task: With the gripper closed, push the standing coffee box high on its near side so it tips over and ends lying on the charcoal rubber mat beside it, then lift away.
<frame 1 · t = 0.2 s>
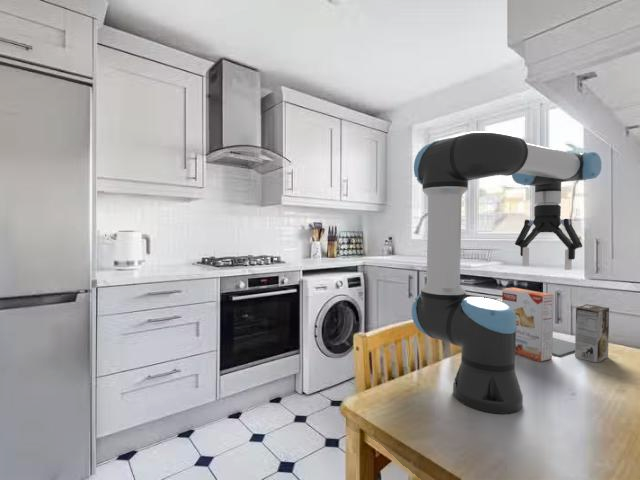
hand: (545, 267, 120), 28 cm above the table, tool pointing down, fingers open, 13 cm apart
coffee box: (591, 357, 114), on the table
mat: (551, 346, 124), on the table
cracker box: (525, 354, 116), on the table
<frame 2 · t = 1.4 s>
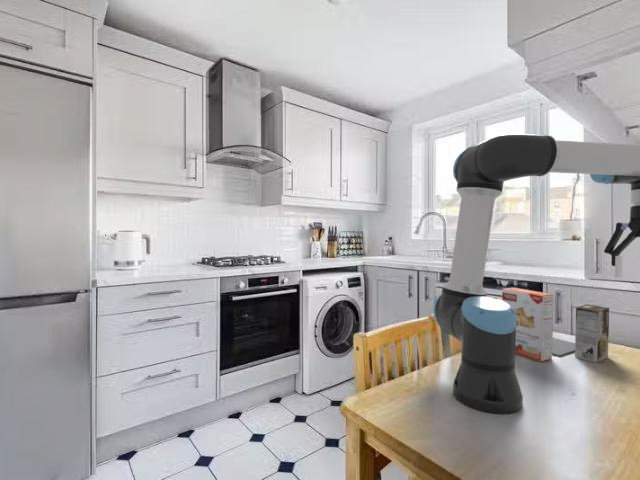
nothing on the table moved.
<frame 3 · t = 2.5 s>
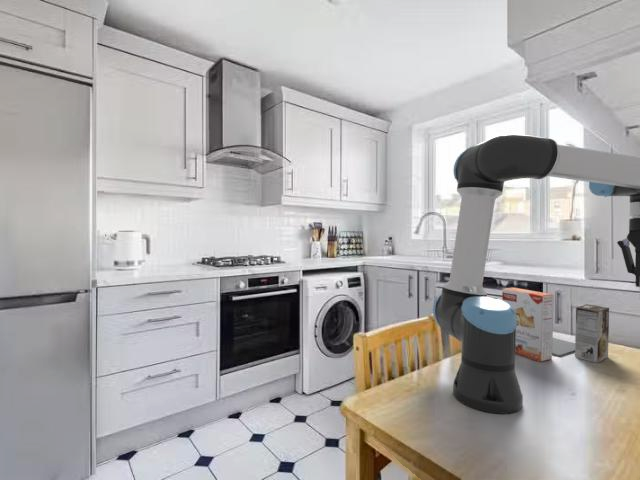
nothing on the table moved.
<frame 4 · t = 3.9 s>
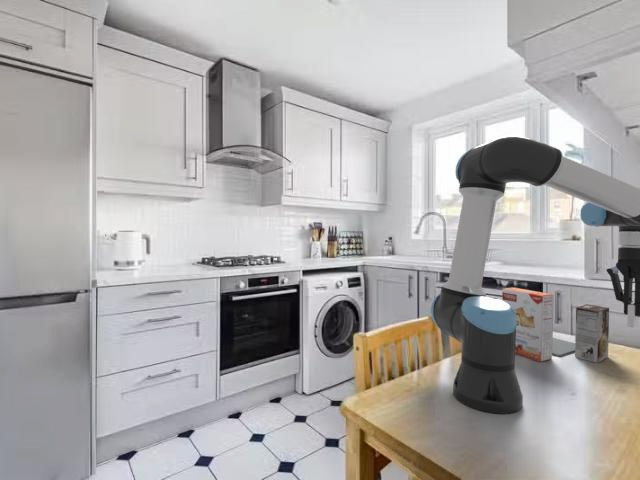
hand: (632, 326, 105), 12 cm above the table, tool pointing down, fingers closed
nothing on the table moved.
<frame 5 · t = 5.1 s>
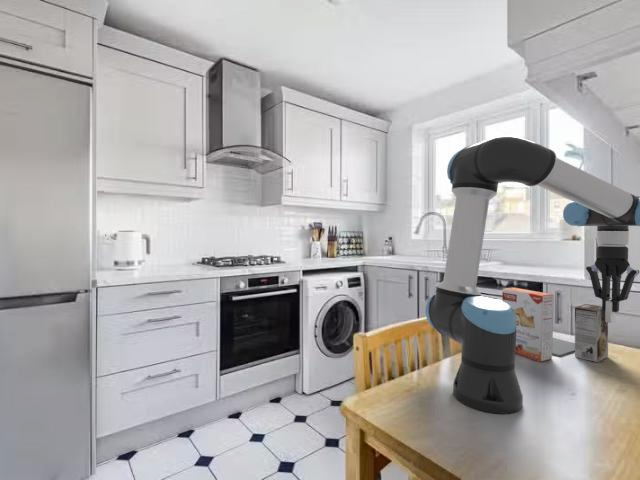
hand: (610, 321, 109), 12 cm above the table, tool pointing down, fingers closed
coffee box: (591, 357, 114), on the table, touching gripper
everything else where it was.
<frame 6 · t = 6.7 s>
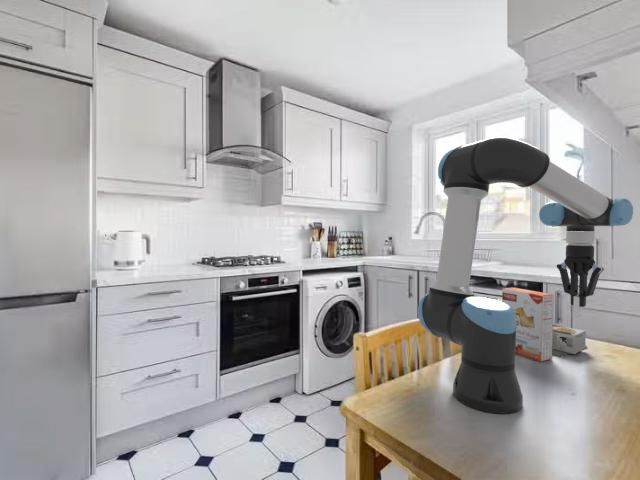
hand: (577, 315, 117), 12 cm above the table, tool pointing down, fingers closed
coffee box: (581, 342, 116), point 4 cm above the table, touching mat
everything else where it was.
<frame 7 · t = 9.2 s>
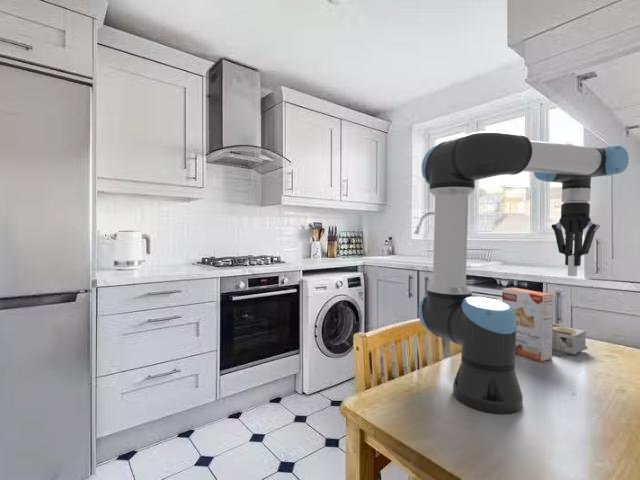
hand: (572, 275, 114), 26 cm above the table, tool pointing down, fingers closed
nothing on the table moved.
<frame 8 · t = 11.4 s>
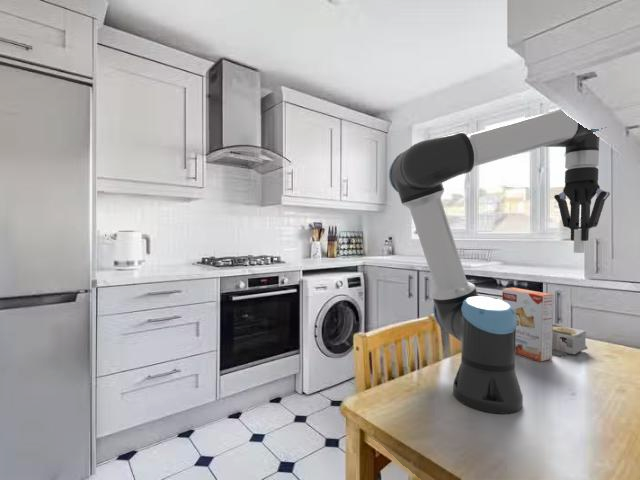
hand: (579, 252, 100), 34 cm above the table, tool pointing down, fingers closed
nothing on the table moved.
at the end: coffee box tilted 90°; coffee box touching mat; coffee box inside the target area (5.2 cm from its centre), point 3.8 cm above the table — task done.
